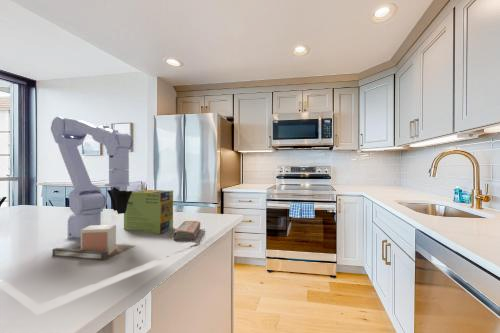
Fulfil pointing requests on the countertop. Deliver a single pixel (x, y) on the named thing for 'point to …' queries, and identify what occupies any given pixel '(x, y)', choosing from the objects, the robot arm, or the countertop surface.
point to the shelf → (89, 252)
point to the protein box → (149, 211)
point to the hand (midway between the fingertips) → (119, 211)
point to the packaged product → (189, 232)
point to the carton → (99, 238)
